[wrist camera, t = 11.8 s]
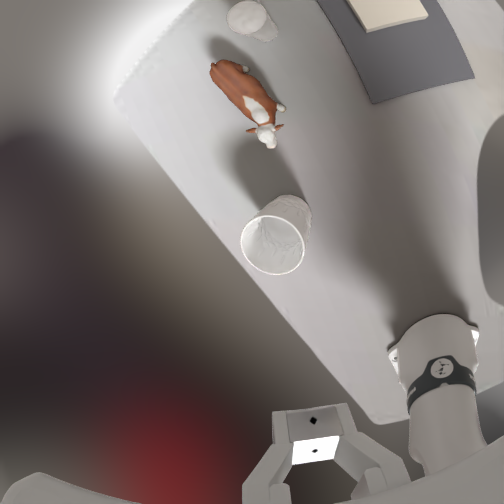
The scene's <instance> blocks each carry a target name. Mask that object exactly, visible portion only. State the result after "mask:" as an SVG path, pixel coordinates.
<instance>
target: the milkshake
mask: <svg viewBox="0 0 504 504" xmlns="http://www.w3.org/2000/svg"><path fill="white" fill-rule="evenodd" d="M227 23H228V25H229V27H230V28H231V29H232V30H233V31H234V32H236V33H239V34H242V35H246V36H250V37H252V38H255V39H258V40H260V41H264V42H269V41H273V40H274V39H275V38H276V37H277V36H278V28H277V26H276V25H275V24H274V22H273V21H272V20H271V18H270V16H269V15H268V13H267V12H266V10H265V8H264V7H263V6H262V5H261V4H260V0H257V2H255V1H250V0H247V1H242V2H239V3H237V4H235V5H234V6H233V7H232V8H231V9H230V10H229V12H228V14H227Z"/></svg>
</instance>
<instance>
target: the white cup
mask: <svg viewBox="0 0 504 504" xmlns="http://www.w3.org/2000/svg"><path fill="white" fill-rule="evenodd" d="M311 220H312V214H311V211H310V209H309V206H308V205H307V204H306V203H305V202H304V201H303V200H302V199H301V198H299V197H296V196H293V195H281V196H279V197H277V198H276V199H274V200H273V201H271V202H270V203H269V204H267V205H266V206H265V207H264V208H263V209H262V210H260V211H259V212H258V213H257V214H256V215H255V216H254V217H253V218H252V219H251V220H250V221H249V222H248V223H247V224H246V225H245V227H244V228H243V230H242V233H241V237H240V245H241V249H242V252H243V254H244V256H245V258H246V259H247V260H248V262H249V263H250V264H251V265H252V266H254V267H255V268H256V269H258V270H260V271H262V272H264V273H267V274H272V275H282V274H286V273H289V272H291V271H293V270H294V269H296V268H297V267H298V266H299V265H300V263H301V262H302V260H303V257H304V253H305V249H306V246H307V242H308V238H309V234H310V228H311Z"/></svg>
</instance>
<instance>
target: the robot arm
mask: <svg viewBox="0 0 504 504" xmlns="http://www.w3.org/2000/svg"><path fill="white" fill-rule="evenodd" d="M478 337H479V329H478V328H477V327H474V326H470V325H468V324H466V323H465V322H464V321H463V320H462V319H461V318H459V317H457V316H455V315H450V314H439V315H433V316H430V317H427V318H424V319H422V320H420V321H419V322H417V323H415V324H414V325H413V326H411V327H410V328H409V329H408V330H407V331H406V332H405V334H404V335H403V337H402V338H401V340H400V341H399V342H398V343H397V344H396V345H394V346H393V347H392V348H390V349H389V351H388V356H389V359H390V361H391V362H392V364H393V366H394V368H395V370H396V372H397V374H398V377H399V384H401V385H402V387H403V389H404V390H405V392H406V393H407V408H408V413H409V415H410V436H409V453H410V455H411V457H412V458H413V459H414V460H415V461H417V462H419V463H421V464H422V465H423V467H424V471H425V476H426V477H424V478H421V479H418V480H416V481H413V482H411V480H410V478H409V475H408V473H407V470H406V468H405V466H404V463H403V460H402V458H400V457H398V456H397V455H395V454H394V453H392V452H391V451H389V450H388V449H386V448H384V447H383V446H381V445H380V444H378V443H377V442H375V441H374V440H372V439H371V438H370V437H368V436H367V435H365V434H364V433H362V432H357V429H356V427H355V424H354V421H353V418H352V415H351V412H350V410H349V407H348V404H346V403H342V404H336V405H328V406H322V407H316V408H310V409H302V410H291V411H277V412H272V431H273V432H272V433H273V445H271V446H270V448H269V449H268V451H267V452H266V453H265V455H264V456H263V458H262V459H261V461H260V462H259V463H258V465H257V466H256V467H255V469H254V470H253V471H252V473H251V474H250V475H249V477H248V478H247V480H246V481H245V482H244V483H243V485H242V504H291V497H290V489H289V485H287V484H285V483H283V484H282V482H283V481H284V479H285V477H286V475H287V474H288V472H289V470H290V468H291V467H292V464H298V463H305V462H312V461H319V460H326V459H334V461H336V463H338V464H339V465H340V466H341V467H342V468H343V469H344V470H345V471H346V472H347V473H348V474H350V475H351V476H352V477H353V478H354V479H355V480H357V482H358V484H357V486H356V487H355V489H354V491H353V492H352V494H351V498H352V500H350V501H346V502H341V503H337V504H504V436H502V437H501V438H499V439H497V440H496V441H494V442H493V443H491V444H489V445H487V444H486V442H485V440H484V438H483V436H482V433H481V429H480V424H479V418H478V412H477V407H476V401H475V396H476V382H475V379H474V372H475V371H476V370H477V366H478V356H477V352H476V344H477V340H478ZM1 504H140V503H135V502H130V501H126V500H121V499H118V498H114V497H110V496H106V495H103V494H99V493H96V492H93V491H90V490H86V489H83V488H80V487H78V486H75V485H72V484H69V483H66V482H64V481H61V480H59V479H56V478H54V477H52V476H49V475H47V474H44V473H40V472H38V473H34V474H32V475H30V476H27V477H25V478H23V479H21V480H19V481H17V482H15V483H14V484H13V485H12V486H11V487H10V488H9V489H8V491H7V492H6V494H5V496H4V498H3V500H2V502H1Z"/></svg>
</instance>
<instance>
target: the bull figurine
mask: <svg viewBox="0 0 504 504" xmlns="http://www.w3.org/2000/svg"><path fill="white" fill-rule="evenodd" d="M249 71H250V69H249V68H248V67H247V66H244V65H240V64H236V63H235V62H232V61H228V60H220V61H218V62H217V63H216V64H215V63H211V70H210V76H211V78H212V80H213V82H214V83H215V84H216V85H217V86H218V87H219V88H220V89H221V90H222V91H223V92H224V93H225V95H226V96H227V97H228V99H229V100H230V101H231V102H232V103H233V104H234V105H235V106H237V107H238V108H239V109H240V110H241V112H242V113H243V114H244V115H245V116H246V117H248V118H249V119H250V120H252V121H253V122H255V123H257V125H258V128H252V129H248V130H246V132H249V133H257V135H258V139H259V140H260V141H261V142H263V143H266V146H267V148H275V147H276V146H277V140H276V131H277V130H279V129H280V128H281V127H282V126H283V125H284V124H282V125H277V126H275V114H276V111H277V109H278V110H279V111H280V112H285V111H286V107H285V106H283V105H281V104H278V103H277V102H275V101H274V100H273V99H272V98H271V97H269V96H268V94H267V92H266V91H265V89H264V88H263V87H262V85H261V84H260V82H259V81H258V80H257V79H256V78H255V77H253V76H251V75H248V74H245V73H248V72H249ZM244 72H245V73H244Z"/></svg>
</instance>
